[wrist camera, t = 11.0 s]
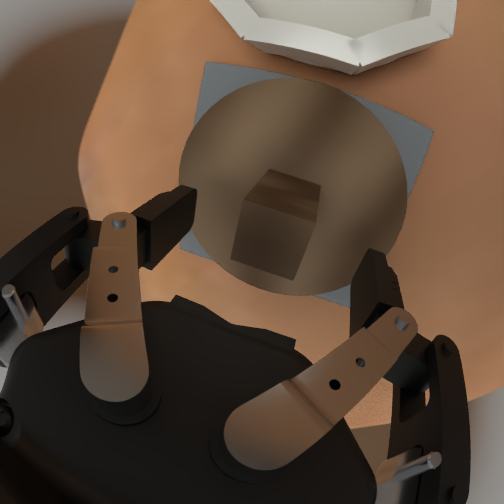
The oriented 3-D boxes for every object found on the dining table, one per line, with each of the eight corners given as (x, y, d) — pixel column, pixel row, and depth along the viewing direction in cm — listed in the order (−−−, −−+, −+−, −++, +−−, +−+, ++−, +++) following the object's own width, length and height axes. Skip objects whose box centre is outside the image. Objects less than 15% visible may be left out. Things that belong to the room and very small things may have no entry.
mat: (430, 130, 12) (433, 131, 12) (349, 302, 20) (349, 307, 20) (210, 62, 14) (206, 61, 13) (183, 244, 22) (179, 248, 21)
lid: (434, 132, 12) (486, 153, 7) (349, 307, 20) (348, 374, 15) (206, 61, 13) (145, 50, 8) (179, 248, 21) (136, 298, 16)
